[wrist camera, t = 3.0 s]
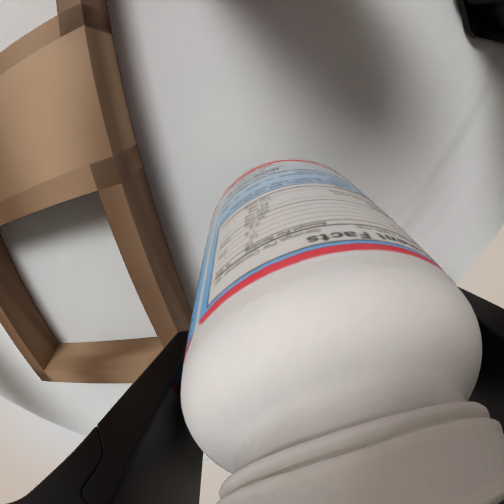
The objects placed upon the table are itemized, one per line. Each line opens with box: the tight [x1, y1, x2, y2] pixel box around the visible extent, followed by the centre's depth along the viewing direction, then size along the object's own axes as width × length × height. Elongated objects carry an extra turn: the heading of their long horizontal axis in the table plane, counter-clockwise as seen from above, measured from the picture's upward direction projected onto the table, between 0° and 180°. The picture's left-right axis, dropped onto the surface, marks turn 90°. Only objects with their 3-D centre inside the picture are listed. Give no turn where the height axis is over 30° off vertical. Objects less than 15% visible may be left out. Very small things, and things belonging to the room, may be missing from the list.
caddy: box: [0, 0, 192, 383], centre depth 10 cm, size 11×27×2 cm, turn 11°
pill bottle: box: [180, 158, 504, 504], centre depth 7 cm, size 6×6×11 cm
